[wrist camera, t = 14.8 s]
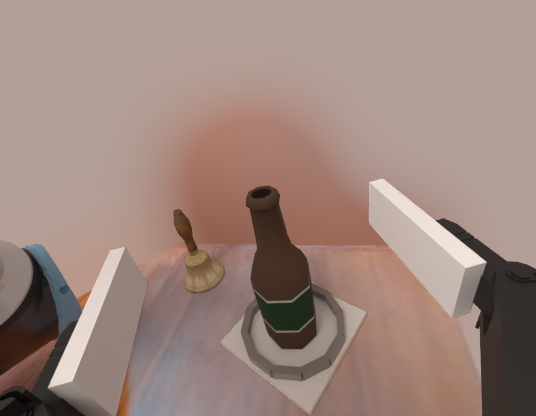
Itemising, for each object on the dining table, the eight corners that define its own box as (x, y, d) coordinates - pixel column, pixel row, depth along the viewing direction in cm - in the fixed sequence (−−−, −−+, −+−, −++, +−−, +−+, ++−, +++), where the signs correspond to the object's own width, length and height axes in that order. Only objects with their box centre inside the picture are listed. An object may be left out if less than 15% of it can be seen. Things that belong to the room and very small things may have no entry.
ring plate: (221, 345, 43) (217, 336, 42) (283, 275, 52) (281, 267, 51) (310, 415, 33) (308, 407, 32) (366, 315, 43) (366, 305, 41)
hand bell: (205, 256, 61) (179, 194, 53) (232, 269, 56) (208, 203, 48) (175, 283, 56) (141, 219, 48) (202, 299, 51) (169, 232, 43)
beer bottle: (326, 314, 43) (309, 176, 30) (307, 362, 38) (277, 219, 25) (281, 300, 47) (249, 172, 34) (258, 341, 42) (210, 208, 29)
